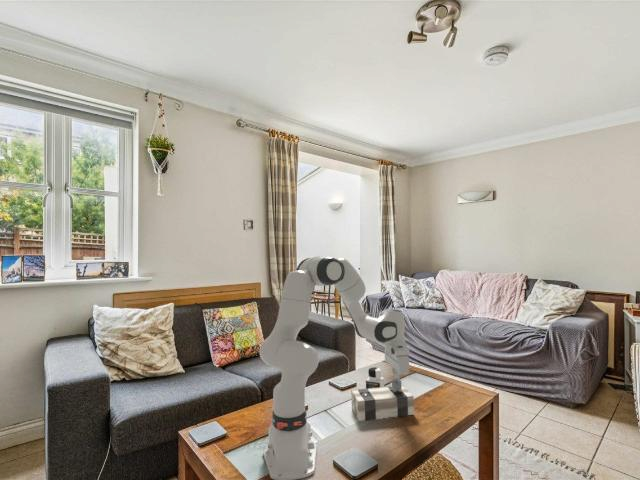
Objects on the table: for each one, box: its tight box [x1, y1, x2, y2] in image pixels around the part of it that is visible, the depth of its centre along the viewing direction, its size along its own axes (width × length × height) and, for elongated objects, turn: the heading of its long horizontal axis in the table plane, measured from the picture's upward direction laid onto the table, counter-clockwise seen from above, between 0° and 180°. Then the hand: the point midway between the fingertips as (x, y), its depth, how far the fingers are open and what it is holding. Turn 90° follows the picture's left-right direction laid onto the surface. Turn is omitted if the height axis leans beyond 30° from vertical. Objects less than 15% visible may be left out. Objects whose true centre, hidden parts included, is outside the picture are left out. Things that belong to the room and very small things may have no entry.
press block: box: [350, 384, 415, 422], centre depth 148 cm, size 12×24×8 cm, turn 98°
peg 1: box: [361, 393, 371, 397], centre depth 147 cm, size 4×4×7 cm
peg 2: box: [391, 378, 402, 394], centre depth 149 cm, size 4×4×7 cm
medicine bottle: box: [365, 367, 385, 389], centre depth 167 cm, size 7×7×12 cm
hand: (396, 377), depth 149 cm, fingers closed
